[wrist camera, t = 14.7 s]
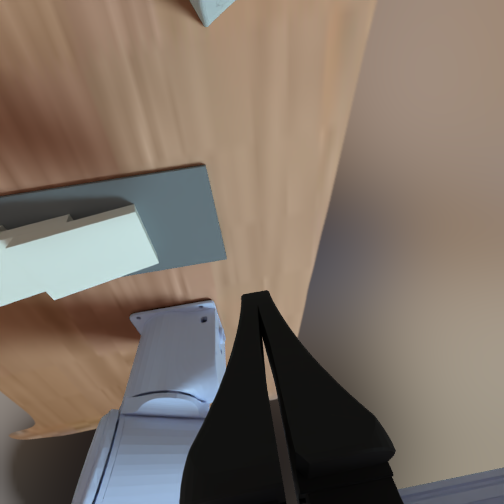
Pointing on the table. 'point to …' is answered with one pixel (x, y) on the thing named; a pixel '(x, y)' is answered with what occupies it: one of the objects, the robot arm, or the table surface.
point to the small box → (210, 9)
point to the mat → (148, 207)
